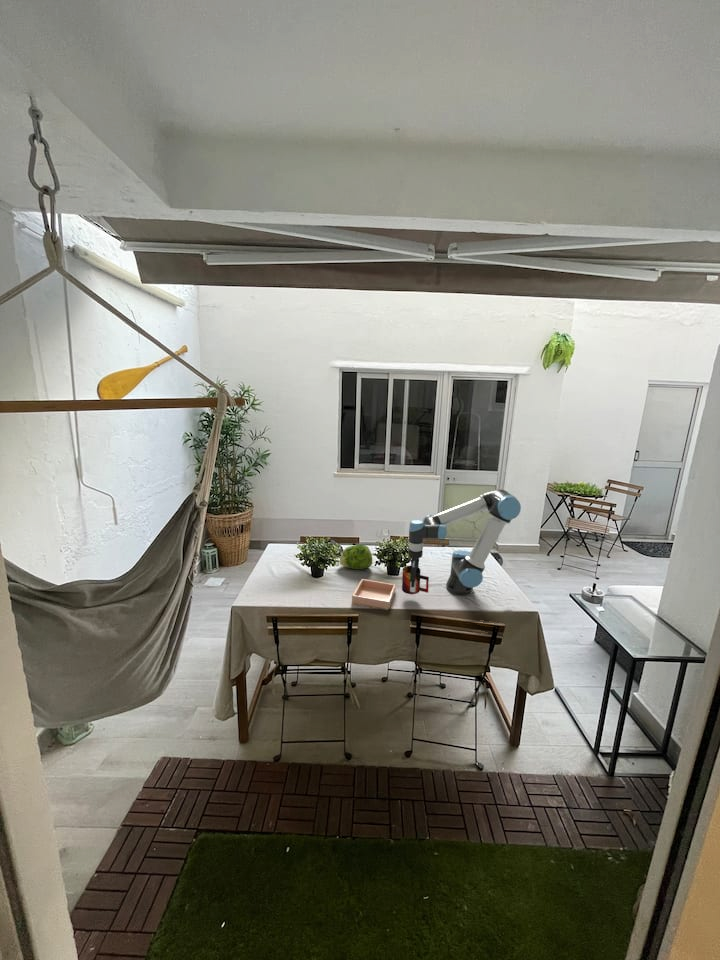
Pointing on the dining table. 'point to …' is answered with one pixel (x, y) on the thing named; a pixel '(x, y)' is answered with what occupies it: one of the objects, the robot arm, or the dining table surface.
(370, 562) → the lettuce
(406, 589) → the mug
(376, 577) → the dining table surface
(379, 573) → the dining table surface
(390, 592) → the tray
